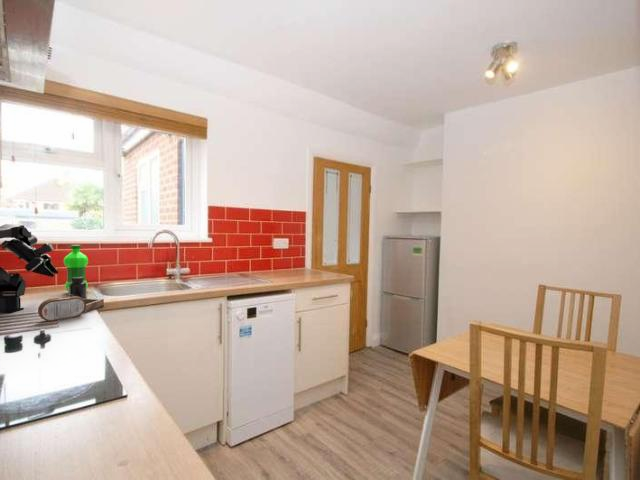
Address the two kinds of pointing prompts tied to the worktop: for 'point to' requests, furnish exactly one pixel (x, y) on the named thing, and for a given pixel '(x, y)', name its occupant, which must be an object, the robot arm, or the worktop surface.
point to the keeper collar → (93, 304)
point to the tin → (61, 308)
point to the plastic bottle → (75, 264)
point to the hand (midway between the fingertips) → (55, 274)
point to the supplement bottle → (78, 287)
